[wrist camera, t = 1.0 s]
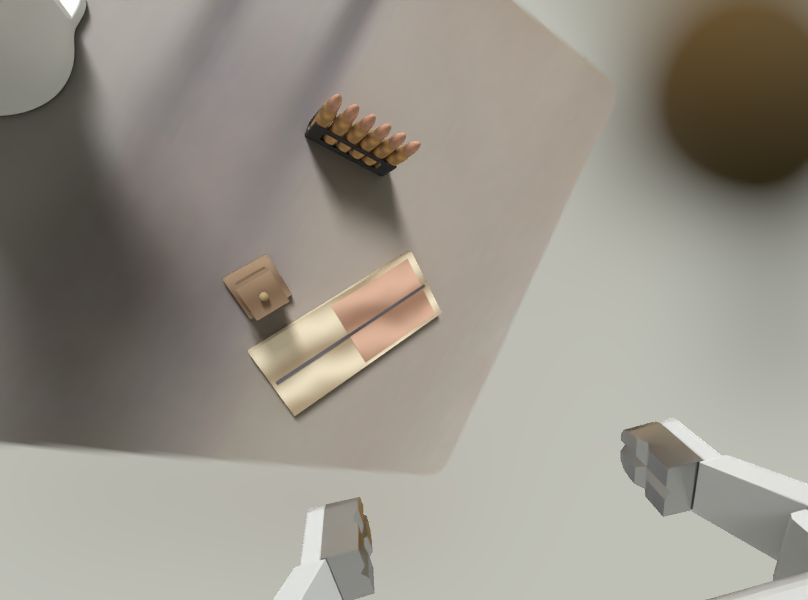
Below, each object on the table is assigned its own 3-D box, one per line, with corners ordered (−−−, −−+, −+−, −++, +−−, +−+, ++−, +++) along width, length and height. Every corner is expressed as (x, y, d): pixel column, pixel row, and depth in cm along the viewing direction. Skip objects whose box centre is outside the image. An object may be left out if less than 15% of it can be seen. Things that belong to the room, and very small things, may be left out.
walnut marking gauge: (222, 277, 42) (218, 287, 33) (265, 254, 44) (274, 256, 34) (249, 317, 44) (254, 337, 34) (290, 293, 46) (305, 305, 36)
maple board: (248, 349, 45) (248, 353, 43) (406, 251, 51) (412, 251, 50) (292, 411, 48) (294, 416, 46) (436, 311, 55) (442, 313, 53)
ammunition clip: (387, 163, 49) (430, 139, 38) (382, 176, 49) (424, 156, 38) (309, 121, 44) (333, 80, 33) (304, 135, 44) (326, 99, 33)
